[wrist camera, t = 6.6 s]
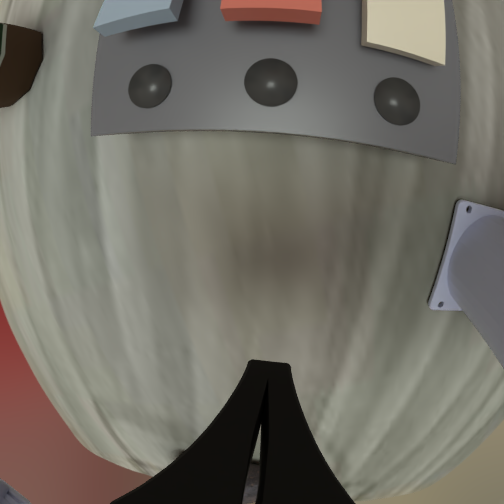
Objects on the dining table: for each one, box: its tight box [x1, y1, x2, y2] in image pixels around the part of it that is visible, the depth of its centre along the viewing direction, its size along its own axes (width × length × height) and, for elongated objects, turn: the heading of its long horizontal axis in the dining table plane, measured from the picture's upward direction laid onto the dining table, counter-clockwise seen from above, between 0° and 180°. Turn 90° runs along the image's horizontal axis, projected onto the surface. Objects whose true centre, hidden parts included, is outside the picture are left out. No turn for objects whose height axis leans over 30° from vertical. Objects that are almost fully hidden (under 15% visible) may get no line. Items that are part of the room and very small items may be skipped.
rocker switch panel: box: [91, 0, 460, 164], centre depth 11 cm, size 18×13×4 cm
